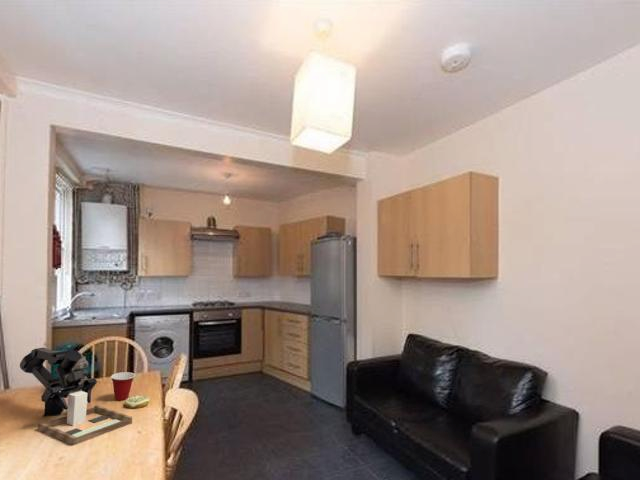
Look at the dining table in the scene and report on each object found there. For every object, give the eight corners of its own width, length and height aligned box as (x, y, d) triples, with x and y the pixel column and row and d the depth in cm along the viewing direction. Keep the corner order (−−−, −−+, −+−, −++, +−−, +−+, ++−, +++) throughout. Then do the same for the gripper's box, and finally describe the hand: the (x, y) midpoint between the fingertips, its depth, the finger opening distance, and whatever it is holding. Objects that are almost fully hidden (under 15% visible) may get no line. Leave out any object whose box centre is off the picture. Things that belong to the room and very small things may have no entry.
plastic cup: (119, 404, 178) (120, 379, 179) (104, 400, 182) (106, 376, 183) (138, 397, 187) (140, 373, 188) (124, 394, 192) (125, 370, 193)
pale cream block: (66, 423, 156) (68, 394, 156) (79, 419, 160) (81, 390, 161) (73, 425, 153) (75, 396, 154) (85, 421, 157) (87, 392, 158)
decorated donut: (132, 411, 170) (132, 403, 170) (120, 406, 176) (120, 398, 177) (153, 404, 179) (153, 396, 179) (141, 400, 185) (141, 392, 185)
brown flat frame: (37, 429, 149) (38, 423, 149) (96, 410, 169) (97, 405, 170) (73, 445, 136) (73, 438, 136) (132, 423, 157) (132, 416, 157)
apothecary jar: (86, 387, 202) (89, 354, 204) (87, 393, 192) (90, 358, 194) (59, 391, 195) (62, 356, 197) (59, 397, 185) (62, 361, 187)
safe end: (64, 438, 142) (64, 437, 142) (116, 419, 160) (116, 419, 160) (75, 443, 138) (75, 442, 138) (127, 423, 156) (127, 422, 156)
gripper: (50, 368, 152) (62, 401, 146) (96, 359, 169) (109, 388, 162) (39, 385, 156) (51, 417, 149) (85, 374, 172) (97, 403, 166)
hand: (78, 405), depth 157 cm, fingers open, 9 cm apart
